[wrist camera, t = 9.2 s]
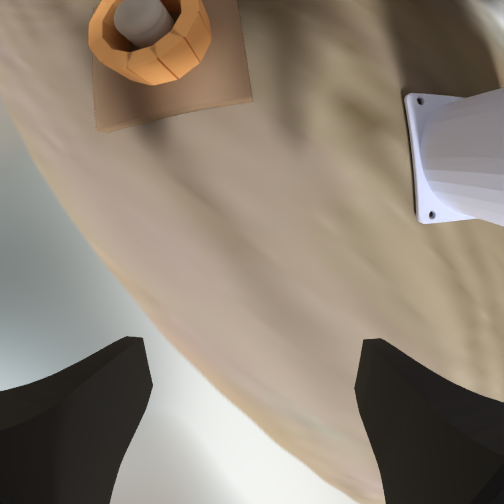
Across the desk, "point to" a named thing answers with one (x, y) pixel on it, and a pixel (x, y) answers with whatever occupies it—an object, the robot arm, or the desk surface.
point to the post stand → (184, 89)
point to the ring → (158, 55)
